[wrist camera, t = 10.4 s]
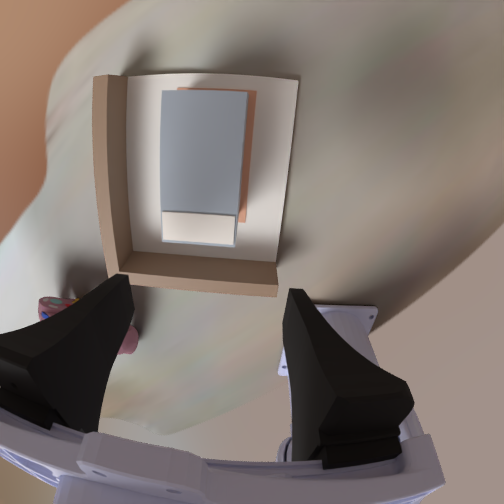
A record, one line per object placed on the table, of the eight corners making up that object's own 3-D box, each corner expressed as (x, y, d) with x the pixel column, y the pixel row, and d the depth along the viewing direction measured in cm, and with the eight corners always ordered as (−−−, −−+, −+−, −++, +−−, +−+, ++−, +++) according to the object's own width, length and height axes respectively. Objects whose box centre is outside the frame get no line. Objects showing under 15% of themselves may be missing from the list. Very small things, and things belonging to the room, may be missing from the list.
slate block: (248, 94, 16) (247, 92, 12) (239, 212, 20) (234, 248, 16) (184, 92, 16) (161, 90, 12) (181, 209, 20) (161, 242, 16)
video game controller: (147, 308, 27) (128, 330, 20) (140, 350, 27) (121, 380, 20) (62, 281, 26) (26, 293, 19) (57, 321, 26) (24, 341, 19)
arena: (273, 269, 23) (276, 297, 20) (125, 257, 23) (109, 281, 20) (297, 81, 16) (306, 76, 13) (117, 78, 16) (93, 76, 13)
